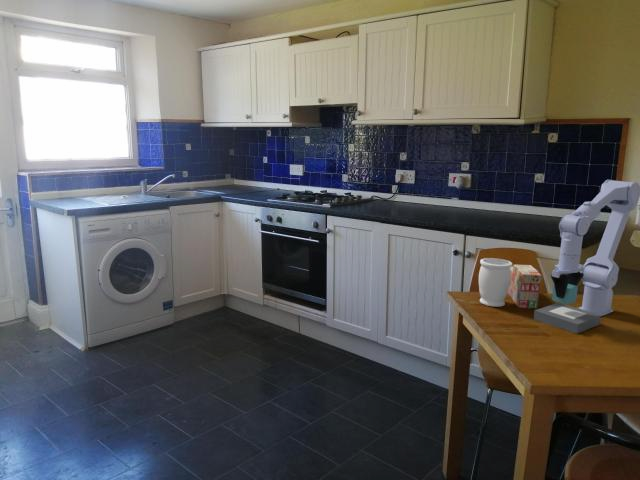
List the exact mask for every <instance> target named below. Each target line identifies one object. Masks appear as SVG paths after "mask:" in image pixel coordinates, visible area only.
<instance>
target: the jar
mask: <svg viewBox="0 0 640 480" xmlns="http://www.w3.org/2000/svg"><path fill="white" fill-rule="evenodd" d="M479 263H480V268H479V273H478V287H479V288H478V290H479V294H480V299H479V302H480V303H481V304H482V305H484V306H488V307H494V308H495V307H497V308H499V307H503V306H505V304H506V301H505V299H506V298H507V295H508V289H509V286H510V281H511V271H510V267H511V266H513V262H511V261H510V260H507V259H503V258H502V259H501V258H496V257H495V258H494V257H485V258H481V259H480V261H479Z"/></svg>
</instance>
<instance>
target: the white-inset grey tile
mask: <svg viewBox="0 0 640 480" xmlns="http://www.w3.org/2000/svg"><path fill="white" fill-rule="evenodd" d="M533 320H535V321H538V322H540V323H544V324H547V325H550V326H552V327H555V328H558V329H561V330H564V331H567V332H571V333H573V334H576V335H578V334H580V333H583V332H584V331H587V330H590V329H591V328H594V327H597V326H599V325H601V320H602V316H601V315H599V314H596V313H592V312H589V311H586V310H582V309H579V307H575V306H572V305H570V304H564V303H561V302H555V303H553V304H549V305H547V306H544V307H542V308H541V307H540V308H537V309H534V311H533Z"/></svg>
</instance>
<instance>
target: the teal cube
mask: <svg viewBox="0 0 640 480" xmlns="http://www.w3.org/2000/svg"><path fill="white" fill-rule="evenodd" d="M578 288H579V285H577V286H575V285H571V284H568V286H567V289H566V293H565V296H564V298H559V297H556V291H555V285H554V284H553V290H552V298H551V299H552V301H554V302H556V303H558V302H559V303H562V304H565V305H570V304H574V303H576V302H577V296H578Z"/></svg>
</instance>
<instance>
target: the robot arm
mask: <svg viewBox="0 0 640 480" xmlns="http://www.w3.org/2000/svg"><path fill="white" fill-rule="evenodd" d="M639 199H640V184H639V183H638V182H637V181H622V180H614V179H606V180H605V181H604V182H603V183H602V184H601V187H600V191H599V193H598V194H597V195H596V196H595V197H594V198H593V199H592V200H591V201H584V202H583V204H581V205H580V206H579V207H578V208H577V209H576V210H575V211H573V212H572V213H571V214H566V215H563V216H562V218H561V219H560V220H559V223H558V229H559V232H560V234H559V237H560V238H561V240H560V242H561V243H560V249H559V258H558V264H555V265H554V268H555V269H553V270H552V273H551V274H550V278H551V280H552V282H553V286H554V285H555V291H556V297H559V298H564V296H565V293H566V289H567V286H568V284H571V285H575V286H579V283H580V281H582V285H584V287H583V288H584V289H583V296H582V301H581V303H582V305H581V306H579V307H578V308H579V309H582V310H586V311H589V312H592V313H596V314H599V315H601V317H603V316H605V315H608V314H610V313H612V312H614V309H612V304H613V303H612V302H613V296H614V291H613V289H612V288H613V287H614V286H616V284H617V282H618V278H619V270H620V267H619V266H618V264H617V263H616V262H615V261H614V258H615V255H616V251H617V249H618V246H619V245H620V242H621V238H622V236H623V233H624V230H625V228H626V225H627V223H628V219H629V216H630V214H631V211H634V210H635V209H636V207H637V205H638V203H639ZM606 206H607V207H608V208H610V209H611V213H610V216H609V218H608V221H607V223H606V227H605V230H604V232H603V235H602V238H601V240H600V242H599V246H598V249H597V251H596V254H595V255H593V256H591V257H588V258H587V259H586V260H585V263H584V264H581V263H580V262H581V254H582V246H583V238H584V235H586V234H587V232H588V231H589V228H590V227H591V224H592V222H593V221H595V220H596V219H597V218H598V217H599V216H600V215H601V209H603V208H604V207H606Z"/></svg>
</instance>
